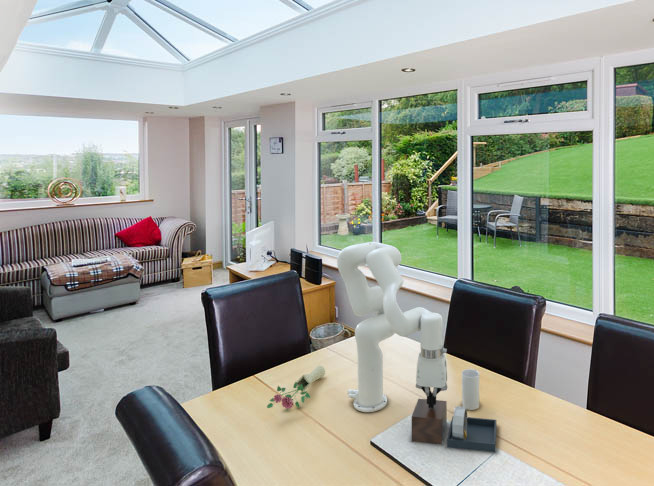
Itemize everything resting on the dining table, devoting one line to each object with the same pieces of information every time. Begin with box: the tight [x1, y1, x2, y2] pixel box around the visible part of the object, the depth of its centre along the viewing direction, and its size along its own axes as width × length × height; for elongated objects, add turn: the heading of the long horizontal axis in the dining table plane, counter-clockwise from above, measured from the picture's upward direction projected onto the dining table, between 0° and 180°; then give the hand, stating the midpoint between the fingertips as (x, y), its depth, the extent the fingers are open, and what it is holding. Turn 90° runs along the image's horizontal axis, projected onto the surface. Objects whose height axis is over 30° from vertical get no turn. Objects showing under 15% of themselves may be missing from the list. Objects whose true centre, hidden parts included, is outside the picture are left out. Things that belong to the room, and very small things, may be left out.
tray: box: [446, 415, 498, 453], centre depth 141 cm, size 15×13×2 cm
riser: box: [411, 398, 448, 445], centre depth 143 cm, size 10×11×8 cm
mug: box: [461, 368, 480, 411], centre depth 161 cm, size 10×7×12 cm, turn 159°
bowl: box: [452, 405, 468, 440], centre depth 140 cm, size 9×9×4 cm
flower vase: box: [266, 365, 326, 411], centre depth 164 cm, size 12×12×35 cm
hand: (431, 406), depth 144 cm, fingers closed
